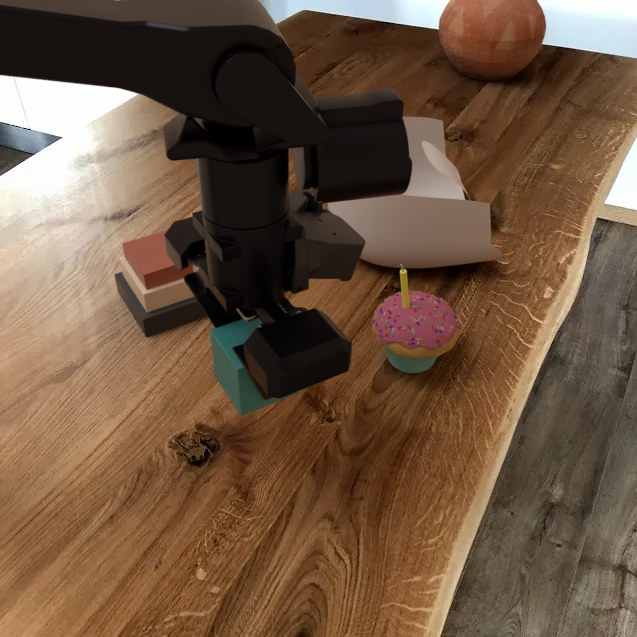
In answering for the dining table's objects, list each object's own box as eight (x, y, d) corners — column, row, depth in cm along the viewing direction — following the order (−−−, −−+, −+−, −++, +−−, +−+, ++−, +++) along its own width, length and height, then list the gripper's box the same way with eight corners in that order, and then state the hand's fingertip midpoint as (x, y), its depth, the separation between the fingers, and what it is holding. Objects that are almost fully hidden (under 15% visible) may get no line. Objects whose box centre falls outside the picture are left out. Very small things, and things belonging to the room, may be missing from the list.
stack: (146, 337, 77) (135, 285, 73) (117, 291, 83) (106, 240, 78) (223, 310, 81) (218, 258, 76) (191, 267, 87) (184, 217, 82)
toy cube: (241, 416, 56) (237, 370, 53) (214, 376, 59) (209, 329, 56) (298, 393, 58) (298, 347, 55) (269, 355, 61) (267, 309, 58)
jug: (423, 79, 129) (436, -42, 116) (446, 45, 142) (460, -69, 129) (528, 96, 125) (554, -30, 112) (542, 58, 137) (567, -58, 124)
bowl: (317, 200, 98) (318, 118, 91) (456, 192, 100) (469, 111, 92) (339, 292, 83) (342, 203, 76) (502, 281, 85) (521, 192, 77)
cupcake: (379, 390, 72) (388, 295, 64) (362, 333, 78) (368, 240, 70) (463, 381, 73) (482, 286, 65) (439, 325, 79) (454, 233, 71)
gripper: (430, 244, 45) (406, 416, 55) (287, 123, 57) (289, 282, 67) (268, 299, 40) (274, 475, 50) (150, 156, 53) (174, 320, 63)
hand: (255, 375), depth 58 cm, fingers closed on toy cube, 5 cm apart
